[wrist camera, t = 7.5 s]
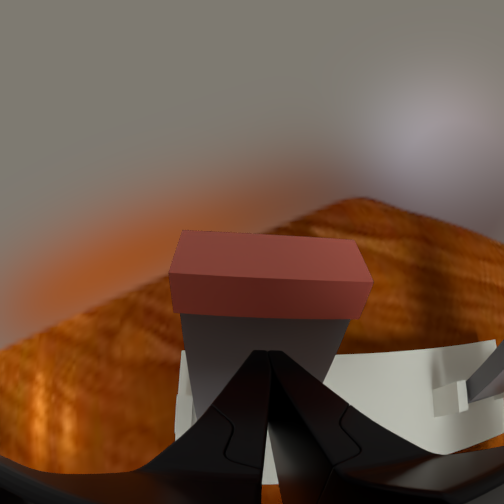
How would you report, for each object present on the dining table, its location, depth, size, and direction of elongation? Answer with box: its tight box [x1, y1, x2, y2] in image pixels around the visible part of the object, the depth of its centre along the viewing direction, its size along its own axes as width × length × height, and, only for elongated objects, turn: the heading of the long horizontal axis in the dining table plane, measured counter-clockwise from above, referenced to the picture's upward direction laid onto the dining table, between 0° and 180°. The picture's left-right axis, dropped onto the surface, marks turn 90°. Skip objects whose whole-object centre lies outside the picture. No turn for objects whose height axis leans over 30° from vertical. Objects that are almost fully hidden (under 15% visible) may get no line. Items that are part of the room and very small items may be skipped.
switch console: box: [174, 340, 504, 484], centre depth 16 cm, size 8×24×5 cm, turn 89°
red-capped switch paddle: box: [169, 230, 374, 430], centre depth 12 cm, size 2×5×11 cm, turn 89°
